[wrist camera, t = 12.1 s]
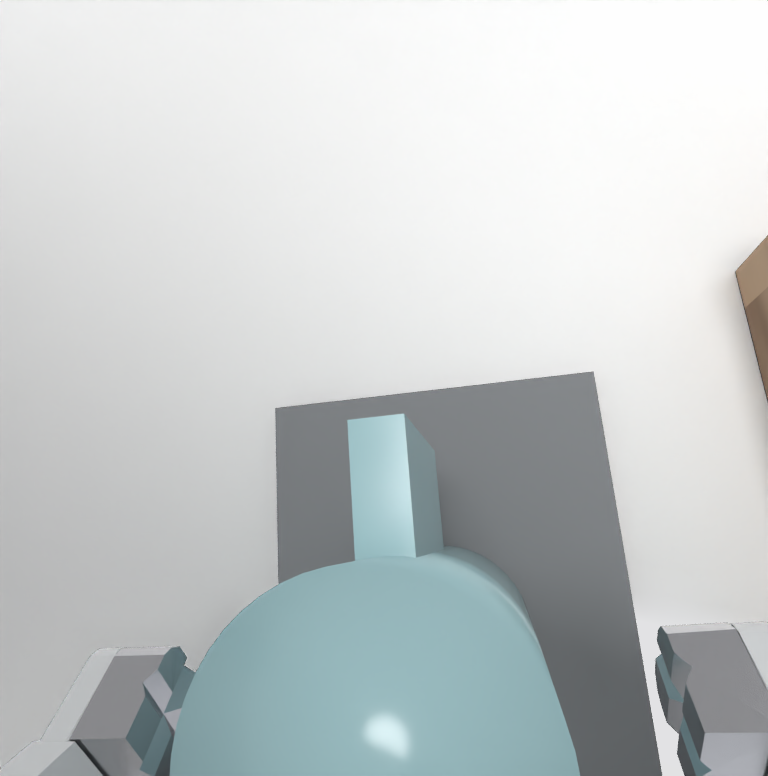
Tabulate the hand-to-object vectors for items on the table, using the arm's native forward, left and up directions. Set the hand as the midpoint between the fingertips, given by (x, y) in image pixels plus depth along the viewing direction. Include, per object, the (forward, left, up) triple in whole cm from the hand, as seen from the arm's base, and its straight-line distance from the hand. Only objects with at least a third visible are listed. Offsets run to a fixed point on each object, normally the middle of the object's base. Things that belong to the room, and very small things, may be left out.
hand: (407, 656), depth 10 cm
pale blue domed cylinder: (0, 0, -7) cm, 7 cm away
